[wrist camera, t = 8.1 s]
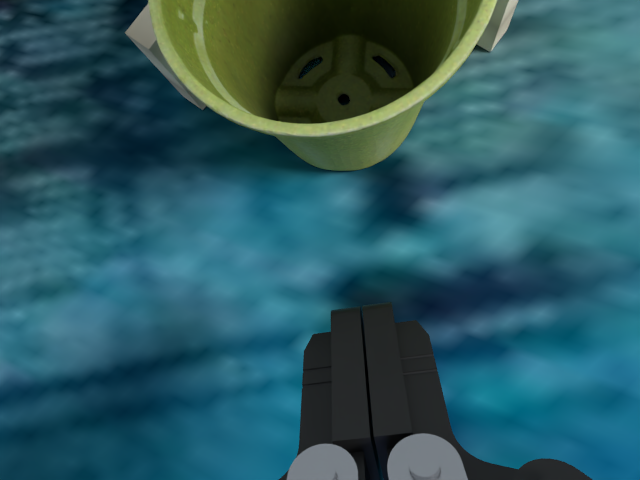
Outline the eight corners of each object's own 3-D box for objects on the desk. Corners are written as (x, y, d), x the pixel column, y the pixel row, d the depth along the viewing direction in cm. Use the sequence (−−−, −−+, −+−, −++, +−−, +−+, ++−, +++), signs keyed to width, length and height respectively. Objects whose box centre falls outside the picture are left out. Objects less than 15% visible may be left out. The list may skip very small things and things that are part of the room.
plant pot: (507, 102, 20) (591, -61, 12) (341, 259, 20) (305, 210, 12) (351, -31, 22) (326, -250, 14) (200, 111, 22) (81, -22, 14)
